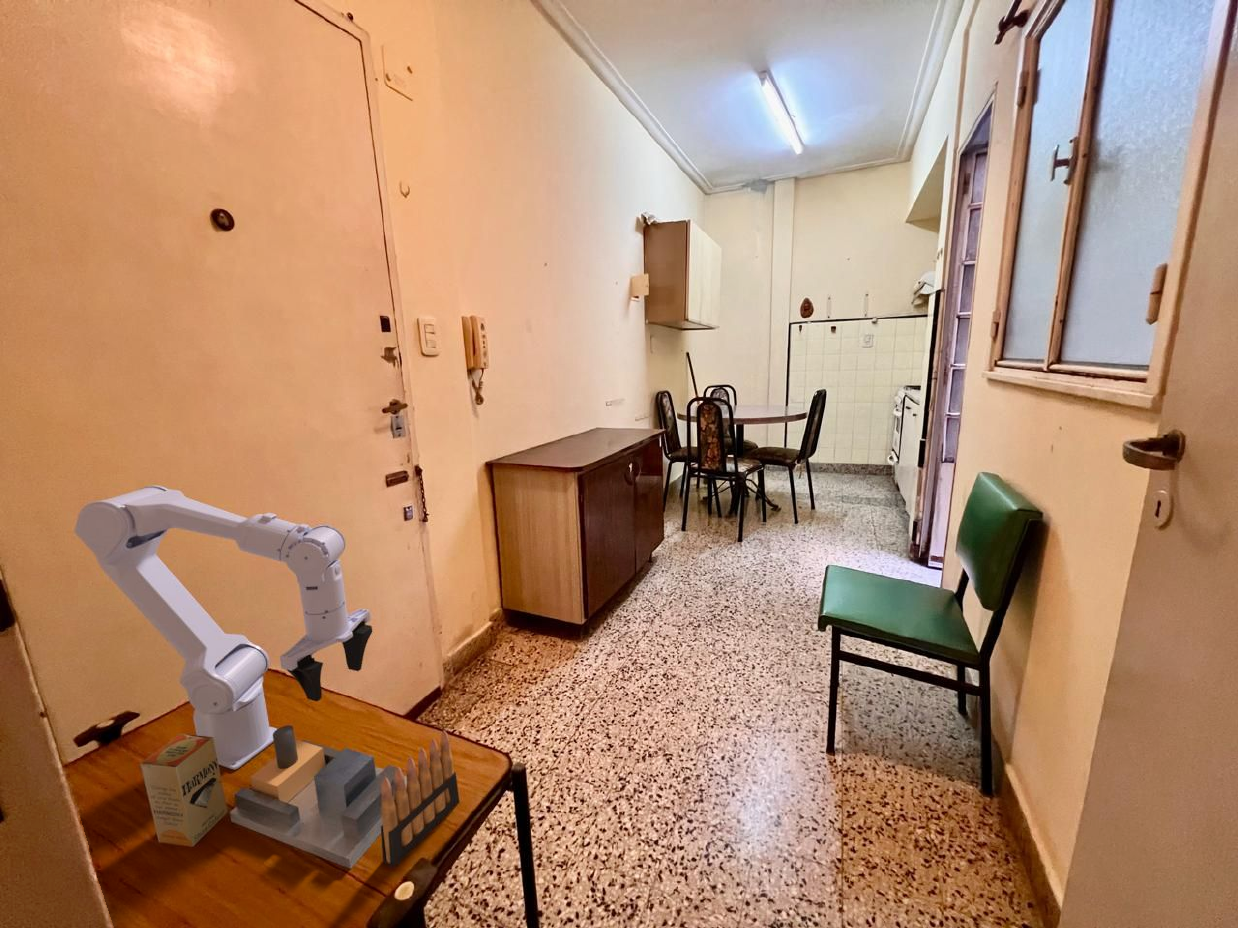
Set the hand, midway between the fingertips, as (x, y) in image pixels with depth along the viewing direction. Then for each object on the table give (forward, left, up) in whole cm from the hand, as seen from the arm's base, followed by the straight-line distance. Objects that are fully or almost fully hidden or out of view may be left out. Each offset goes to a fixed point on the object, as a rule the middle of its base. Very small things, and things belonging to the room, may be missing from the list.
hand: (335, 683), depth 77 cm
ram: (+1, -10, -9) cm, 13 cm away
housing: (+12, -10, -9) cm, 18 cm away
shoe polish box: (-6, -18, -11) cm, 22 cm away
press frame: (+8, -10, -10) cm, 17 cm away
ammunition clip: (+23, -9, -11) cm, 27 cm away
